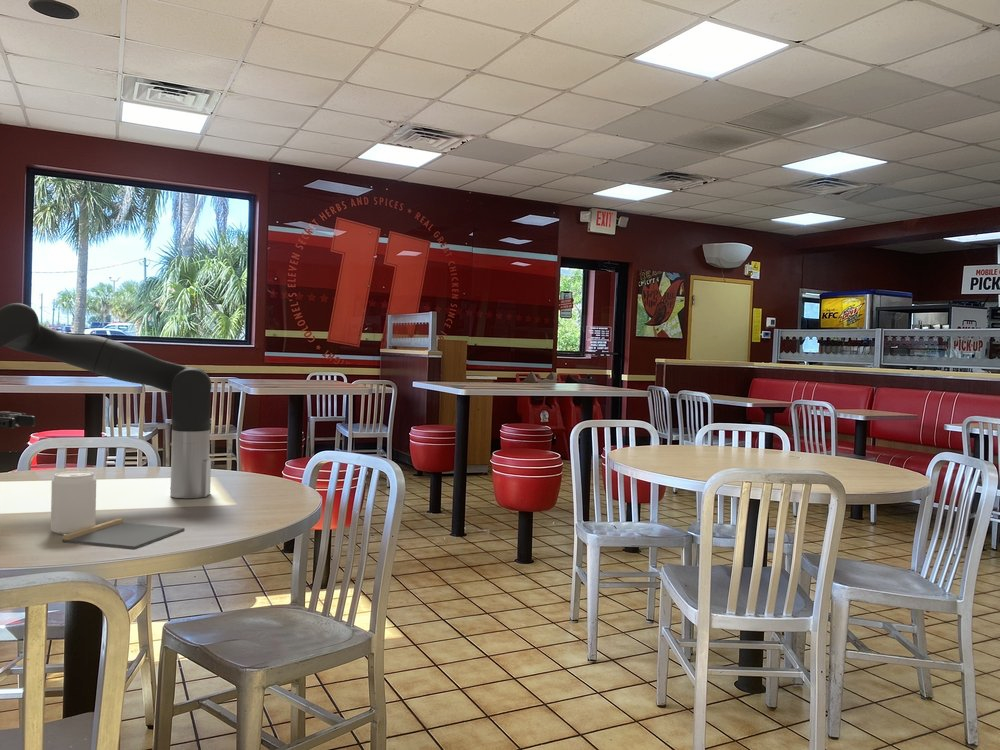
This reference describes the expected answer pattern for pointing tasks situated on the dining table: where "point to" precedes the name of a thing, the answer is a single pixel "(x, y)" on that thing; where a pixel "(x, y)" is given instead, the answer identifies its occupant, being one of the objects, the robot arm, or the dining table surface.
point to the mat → (121, 534)
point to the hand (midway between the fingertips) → (24, 422)
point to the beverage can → (73, 501)
